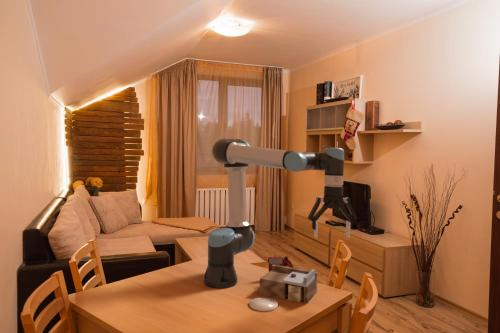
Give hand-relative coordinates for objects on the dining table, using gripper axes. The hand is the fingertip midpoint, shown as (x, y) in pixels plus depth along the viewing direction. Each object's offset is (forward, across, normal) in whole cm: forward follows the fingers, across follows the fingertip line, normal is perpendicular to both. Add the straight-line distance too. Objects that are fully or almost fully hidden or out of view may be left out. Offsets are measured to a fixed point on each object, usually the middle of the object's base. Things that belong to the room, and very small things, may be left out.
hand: (331, 237), depth 150 cm
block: (+25, -15, -1) cm, 29 cm away
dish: (+25, -29, -7) cm, 38 cm away
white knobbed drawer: (+18, -13, +2) cm, 22 cm away
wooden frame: (+25, -16, +5) cm, 30 cm away
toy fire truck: (+25, -16, +22) cm, 37 cm away
